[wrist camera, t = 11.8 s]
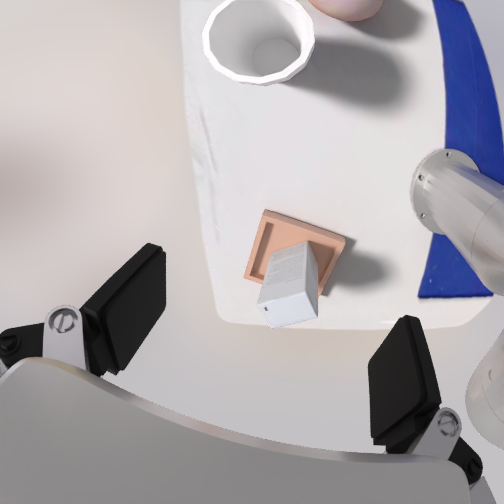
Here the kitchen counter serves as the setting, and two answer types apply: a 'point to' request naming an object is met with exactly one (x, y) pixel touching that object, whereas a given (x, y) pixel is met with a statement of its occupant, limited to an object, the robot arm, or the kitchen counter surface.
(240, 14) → the foam cup
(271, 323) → the skincare box
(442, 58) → the kitchen counter surface
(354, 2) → the decorative fruit
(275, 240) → the tray
